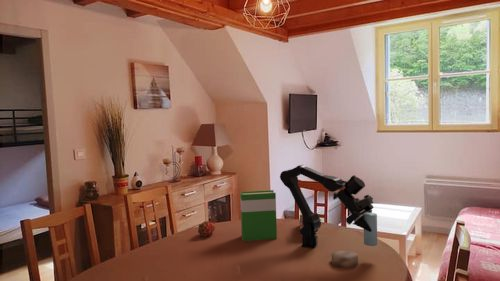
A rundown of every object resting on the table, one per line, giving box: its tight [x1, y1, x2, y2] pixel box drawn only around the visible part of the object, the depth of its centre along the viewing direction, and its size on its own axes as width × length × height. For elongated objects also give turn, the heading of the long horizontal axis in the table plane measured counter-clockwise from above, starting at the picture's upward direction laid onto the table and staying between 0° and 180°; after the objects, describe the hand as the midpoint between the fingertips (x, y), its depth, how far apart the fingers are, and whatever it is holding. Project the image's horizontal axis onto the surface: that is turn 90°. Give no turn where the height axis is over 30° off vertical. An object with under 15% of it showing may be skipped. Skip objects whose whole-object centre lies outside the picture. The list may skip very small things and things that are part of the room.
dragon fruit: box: [197, 220, 216, 238], centre depth 201 cm, size 8×8×12 cm
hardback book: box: [239, 189, 278, 242], centre depth 194 cm, size 18×7×24 cm, turn 96°
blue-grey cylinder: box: [363, 212, 378, 247], centre depth 161 cm, size 6×6×13 cm
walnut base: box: [331, 250, 359, 269], centre depth 159 cm, size 11×11×3 cm
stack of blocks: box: [299, 208, 313, 238], centre depth 202 cm, size 21×6×12 cm, turn 170°
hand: (373, 229), depth 160 cm, fingers closed on blue-grey cylinder, 5 cm apart
